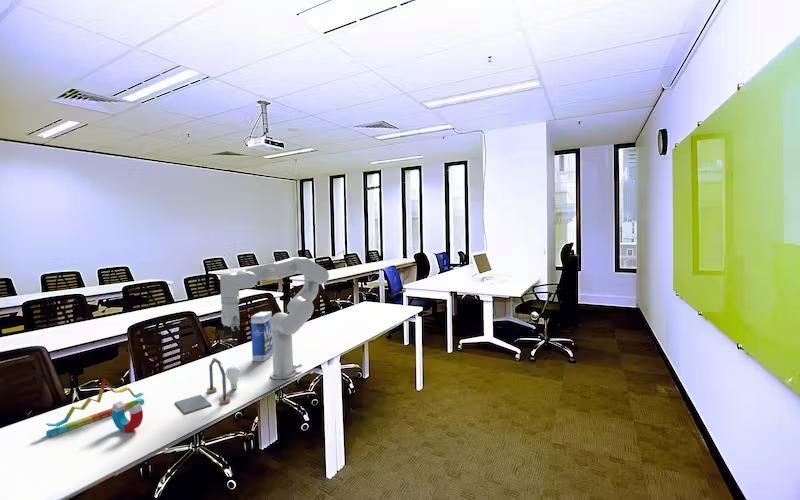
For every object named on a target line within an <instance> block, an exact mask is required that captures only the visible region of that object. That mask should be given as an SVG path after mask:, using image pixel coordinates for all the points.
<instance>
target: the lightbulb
mask: <svg viewBox="0 0 800 500" xmlns="http://www.w3.org/2000/svg"><path fill="white" fill-rule="evenodd" d="M241 373H242V370H241V368H240V366H238V365H235V364H234V365H231V366H229V367H227V369H226V371H225V377H226V378H227V379H228V380H229V383H230V390H237V388H238V380H239V378H240V376H241Z"/></svg>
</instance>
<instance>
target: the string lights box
mask: <svg viewBox="0 0 800 500" xmlns="http://www.w3.org/2000/svg"><path fill="white" fill-rule="evenodd" d="M272 317H273V313H272V311H259V312H257V313H254V315H251V316H250V323H251V324H250V325H251V349H252V350H251V351H252V362H266V361H267V360H268V359H270V357H273V346H272V345H273V344H272V333H271V327H270V321H271V318H272Z"/></svg>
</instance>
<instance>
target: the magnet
mask: <svg viewBox="0 0 800 500" xmlns="http://www.w3.org/2000/svg"><path fill="white" fill-rule="evenodd" d="M111 408H112V415H111V418H112V421H113V424H114V425H115V427H116V428H117V429H118V430H120V431H121V432H123V433H129V432H132V431H133V430H135V429H137V428H139V427H140V426H141V424H142V423H143V419H144V418H143V417H144V413H143V407H142V404H138V405H135V406H133V407H132V408H130V409H128V412H129V415H130V417H129V418H130V419H128V418H127V416H126V414H125V411H124V408H125V403H124V402H123V401H122V400H119V401H117V402H114V403H113V404H112V407H111Z"/></svg>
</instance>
